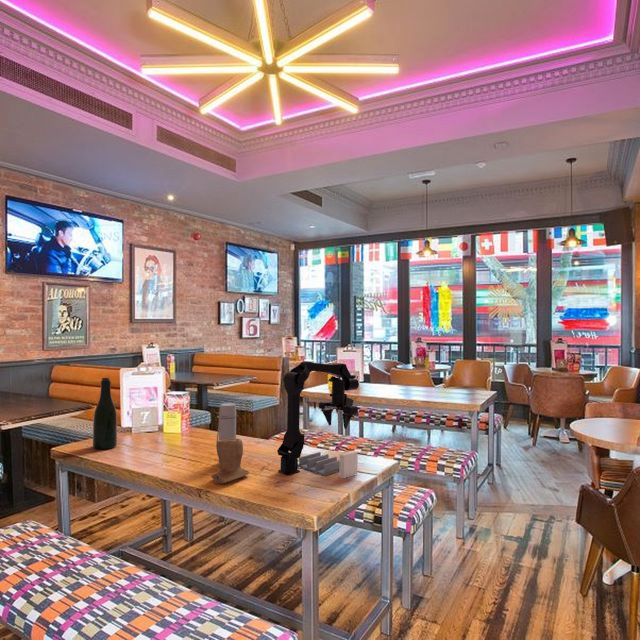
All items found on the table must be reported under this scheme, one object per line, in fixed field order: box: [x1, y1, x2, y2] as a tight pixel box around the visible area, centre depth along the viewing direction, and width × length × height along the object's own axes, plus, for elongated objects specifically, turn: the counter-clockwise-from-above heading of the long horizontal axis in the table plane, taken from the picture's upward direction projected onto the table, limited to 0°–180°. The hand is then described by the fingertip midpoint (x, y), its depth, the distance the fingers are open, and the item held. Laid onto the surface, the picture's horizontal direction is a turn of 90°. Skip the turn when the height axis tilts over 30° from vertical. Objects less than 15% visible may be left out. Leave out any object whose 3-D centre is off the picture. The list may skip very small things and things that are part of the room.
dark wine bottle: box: [92, 377, 118, 451], centre depth 221 cm, size 10×10×33 cm
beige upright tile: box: [338, 450, 359, 479], centre depth 184 cm, size 8×2×9 cm, turn 135°
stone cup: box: [210, 438, 250, 485], centre depth 179 cm, size 15×12×15 cm
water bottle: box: [215, 402, 237, 465], centre depth 198 cm, size 9×8×25 cm
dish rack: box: [298, 451, 340, 476], centre depth 194 cm, size 14×16×4 cm
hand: (337, 427), depth 205 cm, fingers open, 9 cm apart
